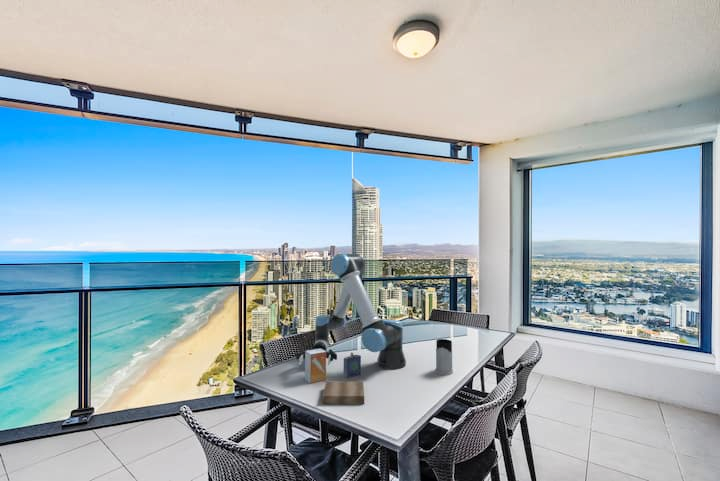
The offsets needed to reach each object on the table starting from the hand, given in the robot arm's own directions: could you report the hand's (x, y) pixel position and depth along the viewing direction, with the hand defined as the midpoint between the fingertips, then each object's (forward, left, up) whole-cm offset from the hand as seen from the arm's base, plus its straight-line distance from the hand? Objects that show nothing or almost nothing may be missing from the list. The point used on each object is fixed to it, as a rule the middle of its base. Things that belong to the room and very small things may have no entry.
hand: (314, 362), depth 144 cm
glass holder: (-65, -12, -8) cm, 67 cm away
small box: (-1, +1, -8) cm, 8 cm away
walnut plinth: (-15, +18, -7) cm, 25 cm away
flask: (-18, -4, -8) cm, 20 cm away
